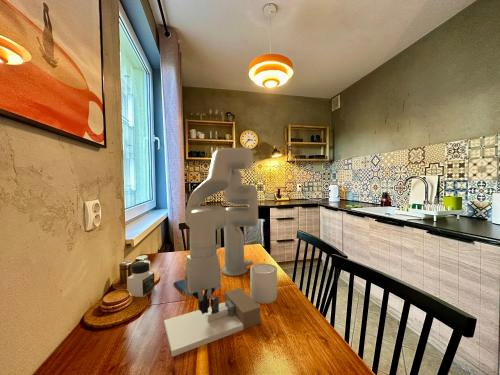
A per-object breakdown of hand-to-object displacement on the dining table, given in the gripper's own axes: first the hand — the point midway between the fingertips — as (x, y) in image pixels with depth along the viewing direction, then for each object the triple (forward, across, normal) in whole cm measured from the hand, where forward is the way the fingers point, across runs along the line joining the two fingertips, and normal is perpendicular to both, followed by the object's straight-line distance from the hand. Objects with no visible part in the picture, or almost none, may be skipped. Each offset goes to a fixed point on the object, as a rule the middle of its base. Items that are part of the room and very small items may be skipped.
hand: (203, 311), depth 65 cm
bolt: (+3, -7, 0) cm, 8 cm away
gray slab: (+5, -3, 0) cm, 5 cm away
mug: (+5, -26, -7) cm, 27 cm away
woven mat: (+6, -2, -29) cm, 30 cm away
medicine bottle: (+5, +16, -33) cm, 37 cm away
